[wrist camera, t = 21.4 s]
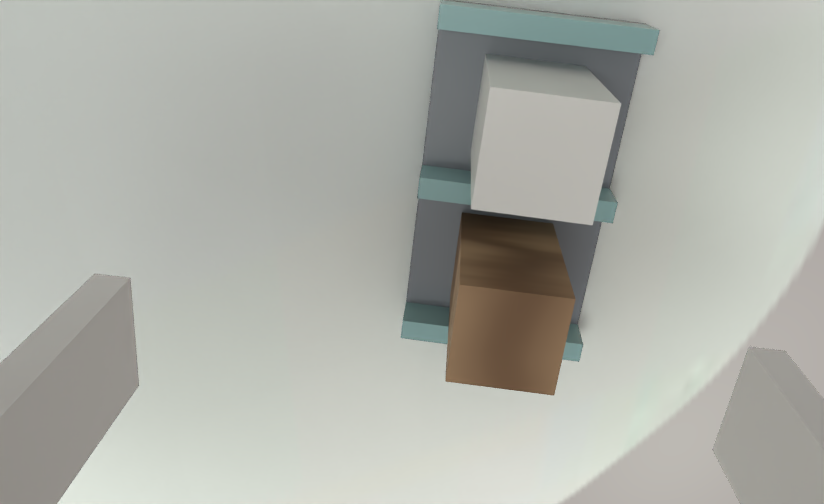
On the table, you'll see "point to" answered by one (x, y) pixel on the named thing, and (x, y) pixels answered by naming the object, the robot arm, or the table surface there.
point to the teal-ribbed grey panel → (453, 132)
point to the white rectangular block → (541, 139)
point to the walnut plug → (508, 305)
